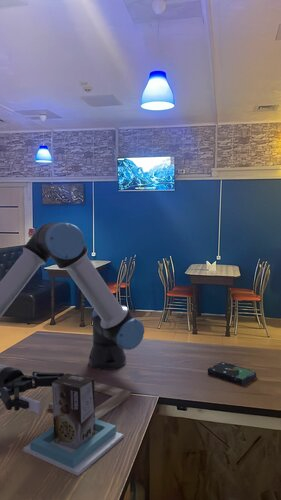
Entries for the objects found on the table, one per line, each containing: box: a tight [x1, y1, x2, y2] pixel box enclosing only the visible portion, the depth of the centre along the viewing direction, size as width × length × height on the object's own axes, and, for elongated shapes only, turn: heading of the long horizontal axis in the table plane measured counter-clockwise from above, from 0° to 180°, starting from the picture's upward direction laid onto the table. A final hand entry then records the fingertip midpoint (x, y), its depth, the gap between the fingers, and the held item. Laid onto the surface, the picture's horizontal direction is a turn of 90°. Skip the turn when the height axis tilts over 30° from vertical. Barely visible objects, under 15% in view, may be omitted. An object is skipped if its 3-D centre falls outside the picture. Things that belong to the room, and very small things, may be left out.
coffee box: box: [51, 373, 96, 449], centre depth 96 cm, size 9×6×16 cm
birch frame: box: [48, 381, 132, 420], centre depth 119 cm, size 17×20×2 cm
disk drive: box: [207, 361, 257, 387], centre depth 139 cm, size 10×3×15 cm
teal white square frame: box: [22, 419, 124, 477], centre depth 96 cm, size 18×18×3 cm
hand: (59, 396), depth 98 cm, fingers open, 13 cm apart
